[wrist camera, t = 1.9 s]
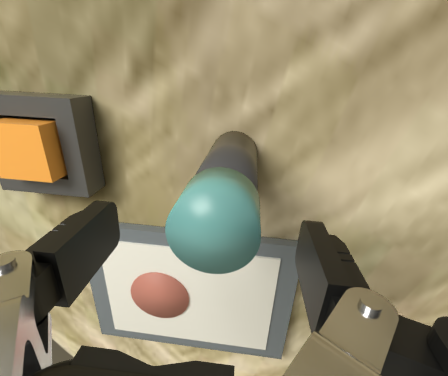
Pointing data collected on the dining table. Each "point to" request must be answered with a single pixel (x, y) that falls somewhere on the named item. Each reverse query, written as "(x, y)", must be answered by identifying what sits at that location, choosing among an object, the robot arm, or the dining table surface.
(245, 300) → the drawing board
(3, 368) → the robot arm
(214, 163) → the marker
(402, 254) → the dining table surface
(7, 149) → the button
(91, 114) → the button housing
